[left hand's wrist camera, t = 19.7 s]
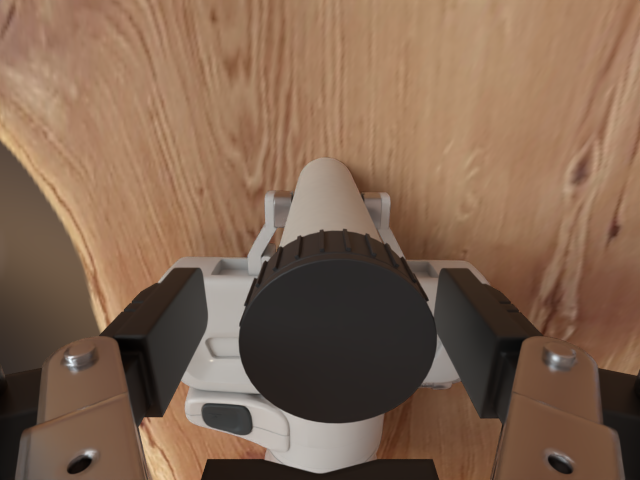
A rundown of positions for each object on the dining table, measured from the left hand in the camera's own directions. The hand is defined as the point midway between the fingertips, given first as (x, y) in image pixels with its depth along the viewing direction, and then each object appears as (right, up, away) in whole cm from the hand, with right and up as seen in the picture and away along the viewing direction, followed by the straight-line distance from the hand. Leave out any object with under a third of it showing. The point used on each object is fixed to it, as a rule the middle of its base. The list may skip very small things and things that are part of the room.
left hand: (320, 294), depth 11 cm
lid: (0, -1, -2) cm, 2 cm away
